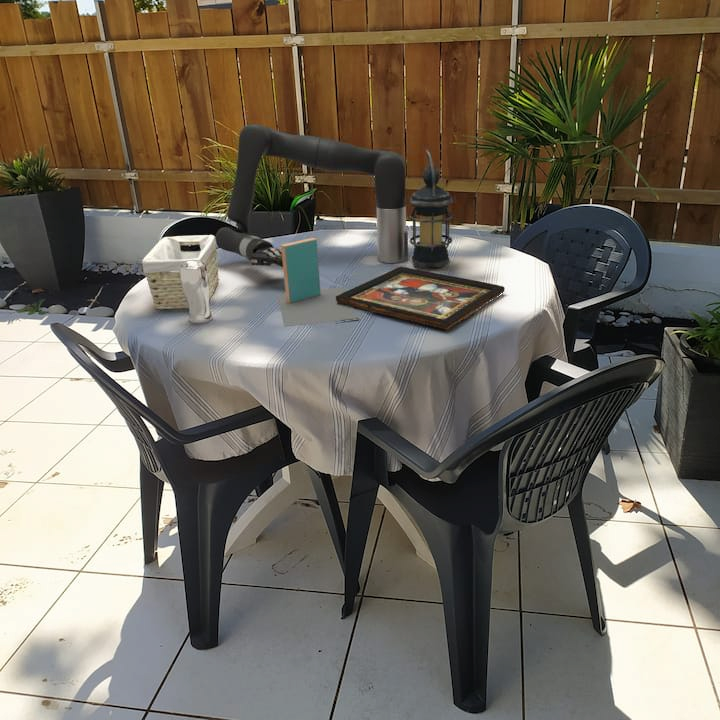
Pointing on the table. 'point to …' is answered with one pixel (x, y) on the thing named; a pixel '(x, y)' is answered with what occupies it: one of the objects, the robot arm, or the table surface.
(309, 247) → the tile
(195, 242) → the storage basket
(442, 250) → the lantern
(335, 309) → the mat
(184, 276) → the beer glass
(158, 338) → the table surface
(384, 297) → the religious icon
